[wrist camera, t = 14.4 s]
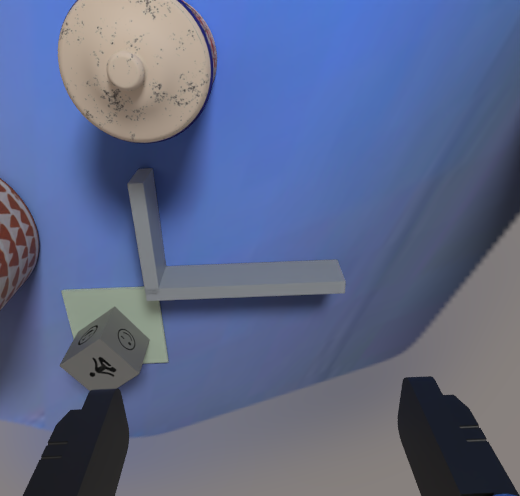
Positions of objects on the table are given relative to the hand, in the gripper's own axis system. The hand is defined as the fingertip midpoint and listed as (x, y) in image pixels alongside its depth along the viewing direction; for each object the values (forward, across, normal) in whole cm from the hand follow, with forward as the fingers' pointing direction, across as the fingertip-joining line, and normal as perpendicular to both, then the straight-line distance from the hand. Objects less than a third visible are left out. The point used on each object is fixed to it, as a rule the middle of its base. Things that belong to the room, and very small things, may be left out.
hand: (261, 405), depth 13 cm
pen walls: (+28, +1, +6) cm, 29 cm away
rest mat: (+28, +14, +17) cm, 36 cm away
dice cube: (+28, +14, +18) cm, 36 cm away
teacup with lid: (+28, +7, -9) cm, 31 cm away
